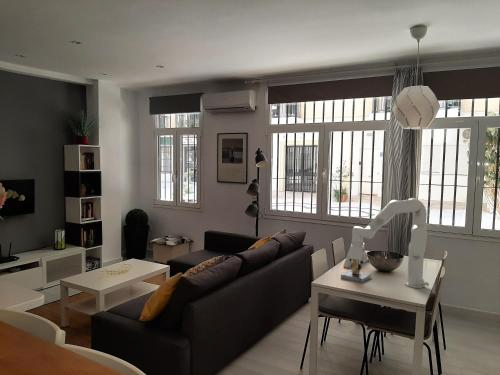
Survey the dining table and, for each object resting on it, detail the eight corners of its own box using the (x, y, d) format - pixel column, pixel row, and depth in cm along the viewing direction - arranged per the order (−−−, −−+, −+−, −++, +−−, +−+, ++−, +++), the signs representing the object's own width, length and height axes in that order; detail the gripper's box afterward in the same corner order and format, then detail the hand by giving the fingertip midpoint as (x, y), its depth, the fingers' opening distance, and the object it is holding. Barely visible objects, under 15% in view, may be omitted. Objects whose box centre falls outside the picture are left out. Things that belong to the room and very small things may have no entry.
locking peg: (359, 273, 281) (360, 259, 280) (357, 274, 278) (358, 260, 277) (354, 272, 283) (354, 258, 283) (352, 273, 280) (352, 259, 279)
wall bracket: (362, 282, 324) (348, 267, 305) (357, 281, 327) (343, 266, 308) (370, 258, 332) (357, 242, 313) (365, 257, 335) (352, 241, 316)
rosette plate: (370, 277, 282) (371, 273, 282) (362, 283, 270) (362, 279, 270) (350, 273, 292) (350, 269, 292) (340, 278, 280) (340, 274, 279)
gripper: (370, 244, 277) (369, 270, 278) (348, 241, 287) (347, 265, 289) (366, 246, 271) (365, 272, 272) (344, 242, 281) (343, 267, 283)
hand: (356, 268), depth 280 cm, fingers closed on locking peg, 4 cm apart
